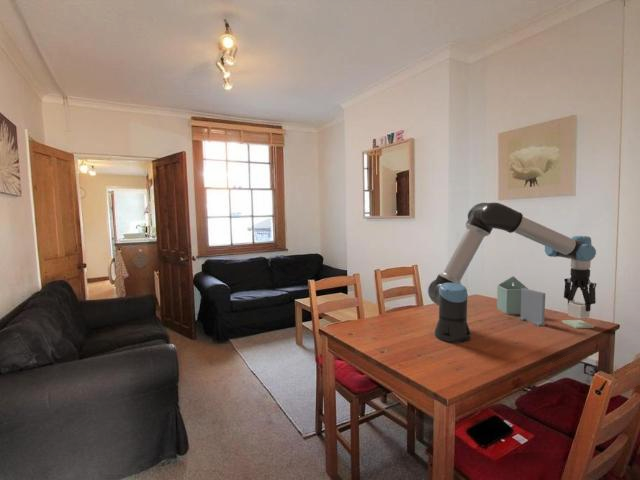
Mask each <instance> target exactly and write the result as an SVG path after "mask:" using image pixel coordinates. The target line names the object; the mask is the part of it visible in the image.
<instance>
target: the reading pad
mask: <svg viewBox="0 0 640 480" xmlns="http://www.w3.org/2000/svg"><path fill="white" fill-rule="evenodd" d="M561 323H563V324H565V325H568V326H569V327H572V328H574V329H594V327H596V326H595V325H593V324H591V323H589V322H587V321H584V320H582V319H563V320H561Z"/></svg>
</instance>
